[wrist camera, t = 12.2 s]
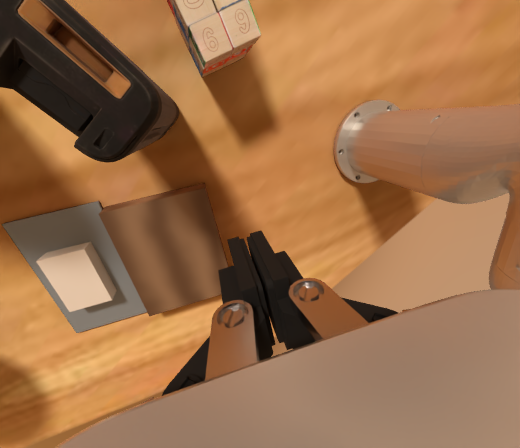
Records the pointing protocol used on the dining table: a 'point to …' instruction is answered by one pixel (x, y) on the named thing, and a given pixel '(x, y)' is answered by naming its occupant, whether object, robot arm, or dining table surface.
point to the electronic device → (80, 79)
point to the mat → (70, 234)
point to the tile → (78, 276)
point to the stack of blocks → (216, 31)
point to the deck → (168, 247)
